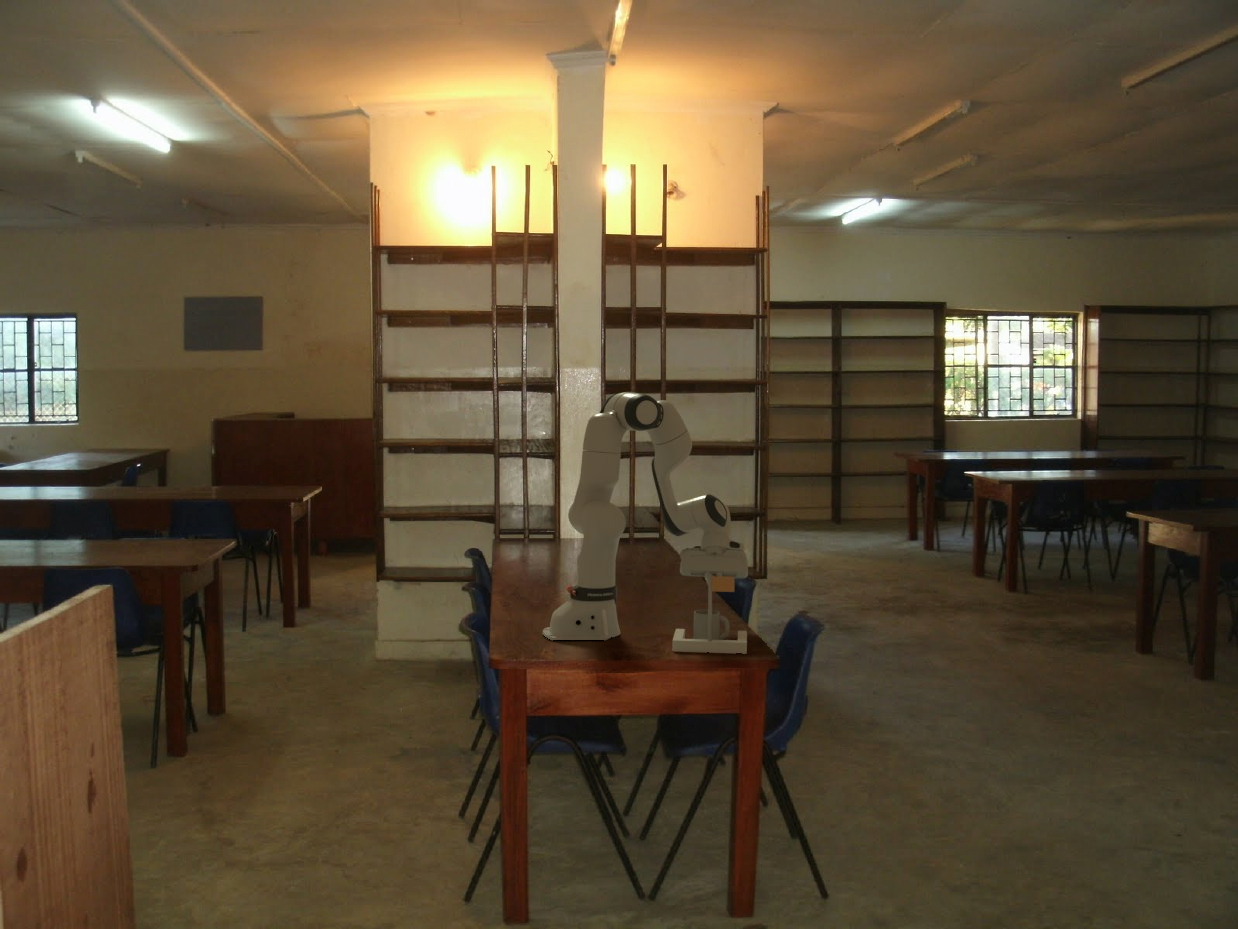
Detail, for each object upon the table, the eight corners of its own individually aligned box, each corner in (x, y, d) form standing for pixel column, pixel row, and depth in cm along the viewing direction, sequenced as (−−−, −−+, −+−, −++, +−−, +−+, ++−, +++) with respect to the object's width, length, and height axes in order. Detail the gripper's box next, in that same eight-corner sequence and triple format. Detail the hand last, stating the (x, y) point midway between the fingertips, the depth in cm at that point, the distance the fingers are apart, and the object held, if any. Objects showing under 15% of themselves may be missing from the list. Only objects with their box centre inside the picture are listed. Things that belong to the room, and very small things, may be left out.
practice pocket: (675, 639, 306) (676, 565, 305) (746, 641, 304) (747, 567, 303) (672, 651, 292) (672, 574, 291) (746, 653, 290) (747, 576, 288)
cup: (692, 640, 305) (692, 609, 304) (727, 640, 305) (728, 609, 304) (694, 646, 298) (695, 614, 297) (730, 646, 298) (731, 614, 297)
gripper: (680, 541, 325) (677, 579, 316) (748, 544, 323) (747, 582, 314) (681, 554, 330) (677, 591, 321) (748, 557, 327) (747, 594, 318)
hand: (712, 587), depth 317 cm, fingers closed
